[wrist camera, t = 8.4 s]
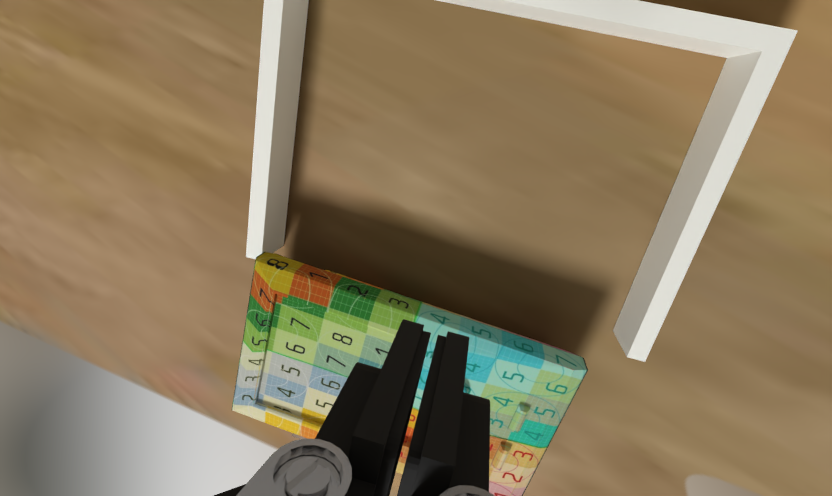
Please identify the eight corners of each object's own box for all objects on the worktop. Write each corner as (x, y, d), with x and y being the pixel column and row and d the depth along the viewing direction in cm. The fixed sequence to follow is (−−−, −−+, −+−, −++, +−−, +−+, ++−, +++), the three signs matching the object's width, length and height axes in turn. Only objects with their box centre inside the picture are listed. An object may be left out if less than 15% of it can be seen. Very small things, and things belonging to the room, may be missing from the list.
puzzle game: (514, 526, 27) (223, 419, 28) (511, 467, 32) (259, 376, 33) (591, 380, 23) (247, 263, 24) (575, 335, 28) (284, 238, 29)
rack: (757, 40, 21) (797, 30, 18) (629, 334, 27) (645, 361, 24) (296, -49, 23) (269, -70, 20) (269, 241, 29) (245, 256, 26)
